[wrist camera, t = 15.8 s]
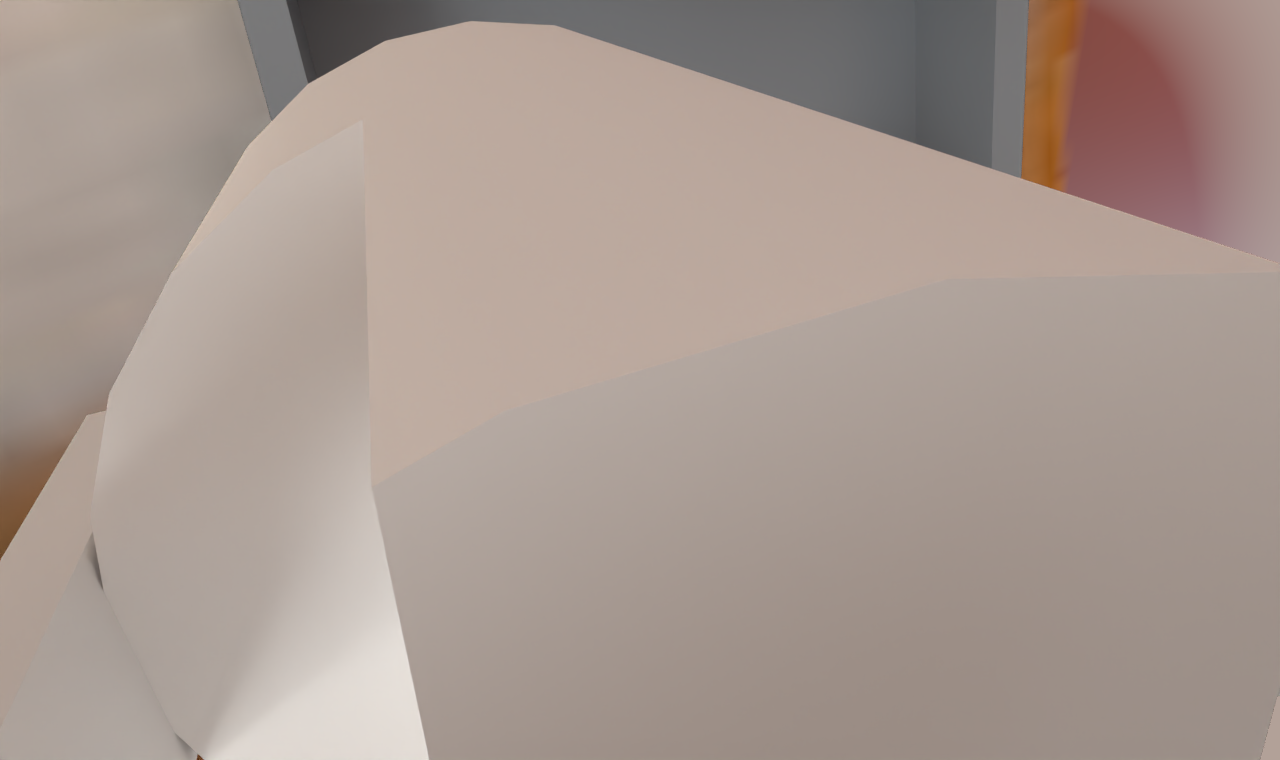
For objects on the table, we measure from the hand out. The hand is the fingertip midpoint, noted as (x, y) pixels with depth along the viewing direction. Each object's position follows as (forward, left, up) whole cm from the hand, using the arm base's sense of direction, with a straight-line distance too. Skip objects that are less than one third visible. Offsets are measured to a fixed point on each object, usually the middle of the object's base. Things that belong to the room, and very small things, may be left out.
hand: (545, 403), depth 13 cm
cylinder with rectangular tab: (0, 0, -3) cm, 3 cm away
